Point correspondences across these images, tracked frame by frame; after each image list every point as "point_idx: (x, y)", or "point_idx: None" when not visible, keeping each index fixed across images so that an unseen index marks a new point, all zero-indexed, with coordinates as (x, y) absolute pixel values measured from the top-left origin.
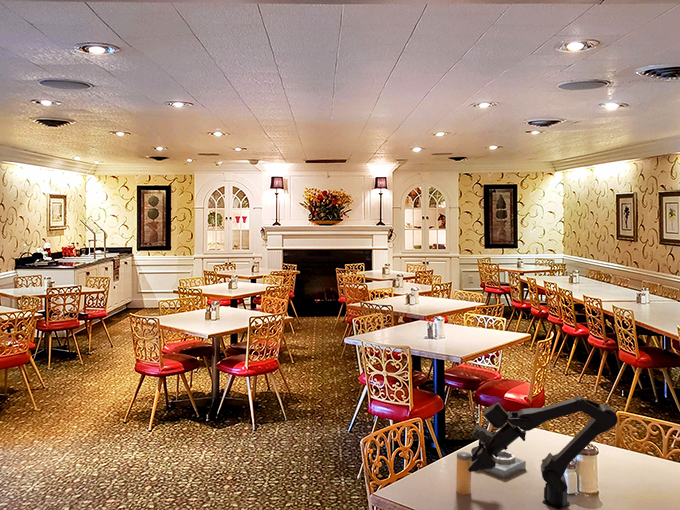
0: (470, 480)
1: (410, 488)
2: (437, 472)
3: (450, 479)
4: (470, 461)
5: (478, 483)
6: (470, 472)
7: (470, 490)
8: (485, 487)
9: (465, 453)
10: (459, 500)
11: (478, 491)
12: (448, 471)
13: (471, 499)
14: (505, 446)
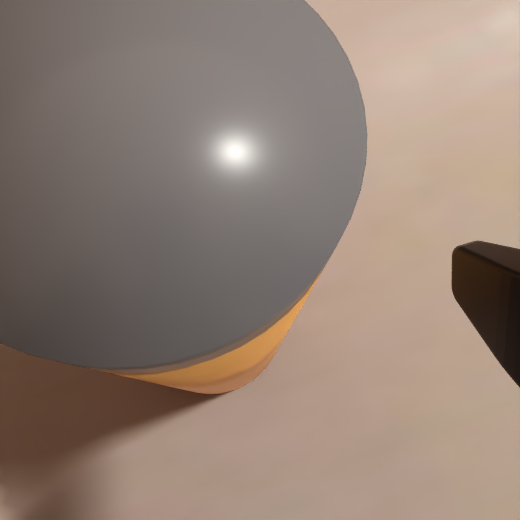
0: (192, 390)
1: None
2: (450, 11)
3: (393, 137)
4: (119, 373)
5: (482, 379)
6: (171, 386)
7: (209, 393)
8: (442, 475)
9: (260, 126)
10: (23, 353)
11: (311, 444)
12: None
13: (99, 447)
14: None
